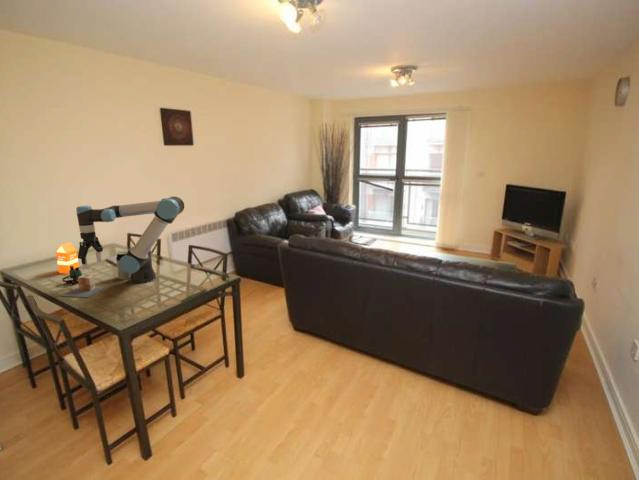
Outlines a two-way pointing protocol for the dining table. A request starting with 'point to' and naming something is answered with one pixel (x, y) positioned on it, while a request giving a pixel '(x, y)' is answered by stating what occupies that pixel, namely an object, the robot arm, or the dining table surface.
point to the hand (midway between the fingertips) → (92, 265)
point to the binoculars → (73, 275)
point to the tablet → (113, 259)
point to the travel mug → (121, 273)
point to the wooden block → (86, 282)
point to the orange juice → (66, 257)
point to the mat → (81, 292)
